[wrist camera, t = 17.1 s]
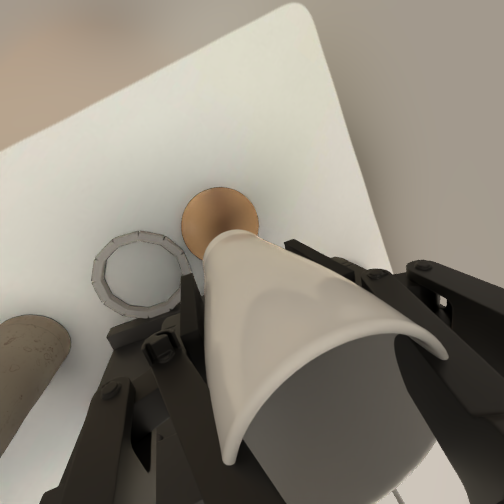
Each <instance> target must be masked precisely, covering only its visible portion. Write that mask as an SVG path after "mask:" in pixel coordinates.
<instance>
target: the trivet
mask: <svg viewBox="0 0 504 504" xmlns="http://www.w3.org/2000/svg"><path fill="white" fill-rule="evenodd" d="M258 227H259V223H258V216H257V213H256V210H255V208H254V206H253V205H252V203H251V202H250V201H249V200H248V199H247V198H246V197H245V196H244V195H243V194H241V193H240V192H238V191H236V190H233V189H229V188H223V187H216V188H210V189H207V190H204V191H202V192H201V193H199V194H197V195H196V196H195V197H194V198H193V199H192V200H191V201H190V202H189V203H188V205H187V206H186V208H185V210H184V213H183V216H182V222H181V230H182V236H183V239H184V242H185V244H186V245H187V247H188V249H189V250H190V251H191V252H192V253H193V254H194V255H195V256H196V257H198V258H199V259H201V260H203V256H204V253H205V250H206V248H207V246H208V245H209V243H210V242H211V241H212V240H213V239H214V238H215V237H216V236H218V235H219V234H221V233H223V232H225V231H229V230H234V229H241V230H246V231H249V232H252V233H254V234H255V235H257V234H258Z"/></svg>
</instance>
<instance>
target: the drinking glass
mask: <svg viewBox="0 0 504 504" xmlns="http://www.w3.org/2000/svg"><path fill="white" fill-rule="evenodd" d="M203 271H204V356H205V370H206V380H207V386H208V388H209V390H210V397H211V402H212V408H213V413H214V418H215V423H216V428H217V433H218V438H219V443H220V448H221V454H222V460H223V462H224V464H226V465H233V464H234V463H235V462H236V458H237V454H238V450H239V447H240V444H241V442H242V439H243V440H244V441H245V443H246V444H247V446H248V447H249V449H250V450H251V452H252V453H253V455H254V456H255V458H256V459H257V461H258V462H259V464H260V465H261V467H262V468H263V470H264V471H265V473H266V474H267V475H268V477H269V478H270V480H271V481H272V483H273V484H274V486H275V487H276V489H277V490H278V492H279V493H280V495H281V496H282V498H283V499H284V501H285V502H286V504H376V503H377V502H379V501H380V500H381V499H382V498H384V497H385V496H387V495H388V494H389V493H390V492H392V491H393V490H394V489H395V488H397V487H398V486H399V485H400V484H401V483H402V482H403V481H404V480H405V479H406V478H407V477H408V476H409V475H410V474H411V473H412V472H413V471H414V470H415V469H416V468H417V467H418V465H419V464H420V463H421V462H422V460H423V459H424V458H425V457H426V455H427V454H428V453H429V451H430V450H431V448H432V446H433V445H434V443H435V442H436V438H435V436H434V435H433V433H432V431H431V430H430V428H429V426H428V425H427V423H426V421H425V420H424V418H423V416H422V415H421V413H420V411H419V410H418V408H417V406H416V405H415V403H414V401H413V400H412V398H411V396H410V395H409V393H408V391H407V389H406V386H405V384H404V381H403V378H402V376H401V373H400V370H399V367H398V363H397V360H396V356H395V350H394V340H395V337H396V336H397V335H398V334H403V335H407V336H409V337H410V338H411V339H413V340H414V341H415V342H417V343H418V344H419V345H421V346H422V347H423V348H425V349H426V350H427V351H429V352H430V353H431V354H433V355H434V356H436V357H438V358H439V359H441V360H447V359H448V358H449V355H448V353H447V351H446V349H445V348H444V347H443V345H442V344H441V342H440V341H439V340H438V339H437V338H436V337H435V336H434V335H433V334H431V333H430V332H429V331H427V330H426V329H425V328H423V327H421V326H420V325H418V324H416V323H415V322H414V321H412V320H411V319H409V318H408V317H406V316H405V315H403V314H402V313H401V312H399V311H398V310H396V309H395V308H393V307H392V306H390V305H389V304H387V303H386V302H384V301H383V300H381V299H380V298H378V297H377V296H375V295H374V294H372V293H370V292H369V291H367V290H366V289H364V288H362V287H361V286H359V285H357V284H356V283H354V282H352V281H351V280H349V279H347V278H345V277H344V276H342V275H340V274H338V273H336V272H334V271H333V270H331V269H329V268H327V267H325V266H323V265H321V264H318V263H316V262H314V261H312V260H309V259H307V258H305V257H303V256H300V255H298V254H296V253H293V252H291V251H289V250H286V249H284V248H282V247H279V246H277V245H275V244H273V243H270V242H268V241H266V240H264V239H261V238H260V237H258V236H257V235H255V234H254V233H252V232H249V231H246V230H241V229H234V230H229V231H225V232H223V233H221V234H219V235H218V236H216V237H215V238H214V239H213V240H212V241H211V242H210V243H209V245H208V246H207V248H206V250H205V253H204V256H203Z"/></svg>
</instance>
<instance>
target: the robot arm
mask: <svg viewBox="0 0 504 504" xmlns="http://www.w3.org/2000/svg"><path fill="white" fill-rule="evenodd" d="M284 244H285V249H286V250H289V251H291V252H293V253H296V254H298V255H300V256H303V257H305V258H307V259H309V260H312V261H314V262H316V263H318V264H321V265H323V266H325V267H327V268H329V269H331V270H333V271H334V272H336V273H338V274H340V275H342V276H344V277H345V278H347V279H349V280H351V281H352V282H354V283H356V284H357V285H359V286H361V287H362V288H364V289H366V290H367V291H369V292H370V293H372V294H374V295H375V296H377V297H378V298H380V299H381V300H383V301H384V302H386V303H387V304H389V305H390V306H392V307H393V308H395V309H396V310H398V311H399V312H401V313H402V314H403V315H405V316H406V317H408V318H409V319H411V320H412V321H414V322H415V323H416V324H418V325H420V326H421V327H423V328H425V329H426V330H427V331H429V332H430V333H431V334H433V335H434V336H435V337H436V338H437V339H438V340H439V341H440V342H441V344H442V345H443V347H444V348H445V349H446V351H447V353H448V355H449V358H448V359H447V360H441V359H439V358H438V357H436V356H434V355H433V354H431V353H430V352H429V351H427V350H426V349H425V348H423V347H422V346H421V345H419V344H418V343H417V342H415V341H414V340H413V339H411V338H410V337H409V336H407V335H403V334H398V335H397V336H396V337H395V340H394V350H395V356H396V360H397V363H398V367H399V370H400V373H401V376H402V378H403V381H404V384H405V386H406V389H407V391H408V393H409V395H410V396H411V398H412V400H413V401H414V403H415V405H416V406H417V408H418V410H419V411H420V413H421V415H422V416H423V418H424V420H425V421H426V423H427V425H428V426H429V428H430V430H431V431H432V433H433V435H434V436H435V438H436V440H437V441H438V443H439V444H440V446H441V448H442V450H443V451H444V453H445V455H446V456H447V458H448V460H449V461H450V463H451V465H452V466H453V468H454V470H455V471H456V473H457V474H458V476H459V478H460V480H461V482H462V483H463V485H464V487H465V490H466V492H467V495H468V498H469V502H470V504H504V289H503V288H501V287H498V286H496V285H493V284H490V283H488V282H485V281H483V280H480V279H478V278H475V277H472V276H470V275H467V274H464V273H462V272H459V271H457V270H454V269H451V268H449V267H446V266H444V265H441V264H439V263H436V262H433V261H426V260H417V261H412V262H410V263H408V264H407V265H406V272H405V273H400V274H394V275H392V274H391V273H390V272H389V271H387V270H384V269H369V270H366V269H364V268H362V267H360V266H358V265H356V264H353V263H352V262H349V261H347V260H345V259H343V258H339V257H333V258H329V257H327V256H325V255H323V254H321V253H319V252H318V251H316V250H314V249H312V248H310V247H308V246H306V245H304V244H302V243H300V242H299V241H297V240H295V239H292V240H289V241H286V242H284ZM440 296H443V297H444V298H446V299H447V306H446V307H445V306H443V305H441V304H440ZM142 352H143V354H144V356H145V357H146V359H147V361H148V363H149V365H150V368H149V369H148V370H147V371H145V372H144V373H143V374H141V375H140V376H138V377H136V378H135V379H133V380H132V381H131V380H130V378H129V377H127V376H118V377H115V378H113V379H111V380H109V381H107V382H106V383H105V384H103V385H102V386H101V387H100V388H99V389H98V390H97V391H96V393H95V394H94V396H93V398H92V400H91V403H90V406H89V409H88V413H87V416H86V419H85V422H84V425H83V429H82V432H81V435H80V438H79V441H78V445H77V448H76V451H75V454H74V458H73V461H72V464H71V467H70V470H69V474H68V477H67V480H66V483H65V486H64V490H63V493H62V496H61V499H60V502H59V504H156V428H157V427H158V426H159V425H161V424H162V423H163V422H165V421H166V420H167V419H169V418H171V421H172V423H173V426H174V428H175V431H176V433H177V436H178V438H179V441H180V443H181V446H182V449H183V451H184V454H185V456H186V459H187V461H188V464H189V466H190V469H191V471H192V474H193V476H194V479H195V481H196V484H197V486H198V489H199V491H200V494H201V497H202V499H203V502H204V504H286V502H285V501H284V499H283V498H282V496H281V495H280V493H279V492H278V490H277V489H276V487H275V486H274V484H273V483H272V481H271V480H270V478H269V477H268V475H267V474H266V473H265V471H264V470H263V468H262V467H261V465H260V464H259V462H258V461H257V459H256V458H255V456H254V455H253V453H252V452H251V450H250V449H249V447H248V446H247V444H246V443H245V441H244V440H243V439H242V442H241V444H240V447H239V450H238V454H237V458H236V462H235V463H234V464H233V465H226V464H224V462H223V460H222V454H221V448H220V443H219V438H218V433H217V428H216V423H215V418H214V413H213V408H212V402H211V397H210V390H209V388H208V386H207V385H206V384H207V380H206V370H205V356H204V303H203V300H202V298H201V295H200V292H199V289H198V287H197V284H196V281H195V278H194V276H193V273H190V274H187V275H184V276H181V301H180V313H178V314H176V315H173V316H170V317H167V318H166V319H165V321H164V322H163V324H162V328H161V331H158V332H156V333H154V334H153V335H151V336H150V337H148V338H147V339H146V340H145V341H144V343H143V345H142Z"/></svg>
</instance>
